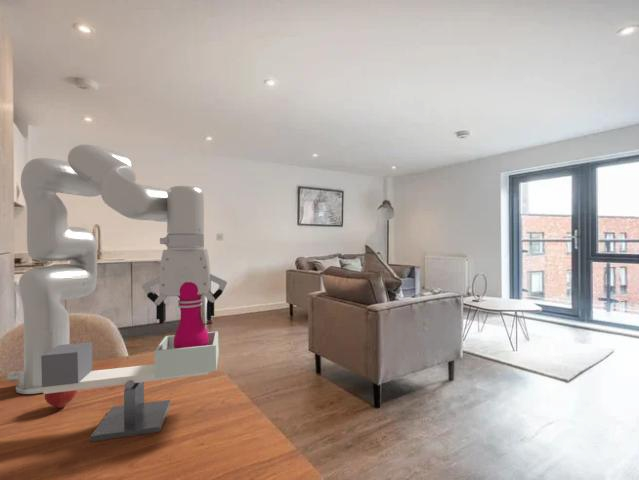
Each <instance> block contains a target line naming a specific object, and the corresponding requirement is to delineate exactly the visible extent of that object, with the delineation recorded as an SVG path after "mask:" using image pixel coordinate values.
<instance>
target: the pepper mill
mask: <svg viewBox="0 0 639 480" xmlns="http://www.w3.org/2000/svg"><path fill="white" fill-rule="evenodd" d="M179 292H180V296H177V297H178V299H179V300H178V301H177V303H178V306H177V307H178V308H180V310H179V311H180V319H179V323H178V327H177V329H176V332H175V334H174V335H175V337H174V348H175V349H176V348H186V347H196V346H206V345H208V343H209V337H208V333H207V332H208V330H207V328H206V326H205V324H204V322H203V319H202V318H203V317H202V313H201V309H202V308H201V306H203V298H202V296H203V295H198V294H197V293H198V287H197V285H196V284H194V283H191V282H185V283H184V284H183V285H182V286H181V287H180V290H179Z"/></svg>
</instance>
